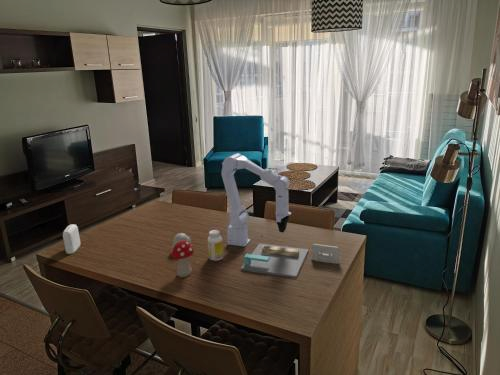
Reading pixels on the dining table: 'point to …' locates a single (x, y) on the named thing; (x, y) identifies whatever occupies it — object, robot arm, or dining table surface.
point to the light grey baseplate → (277, 263)
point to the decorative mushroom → (183, 257)
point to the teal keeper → (254, 258)
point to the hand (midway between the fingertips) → (282, 230)
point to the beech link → (280, 250)
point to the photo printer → (71, 238)
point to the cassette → (325, 257)
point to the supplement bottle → (215, 245)
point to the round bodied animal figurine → (181, 238)
